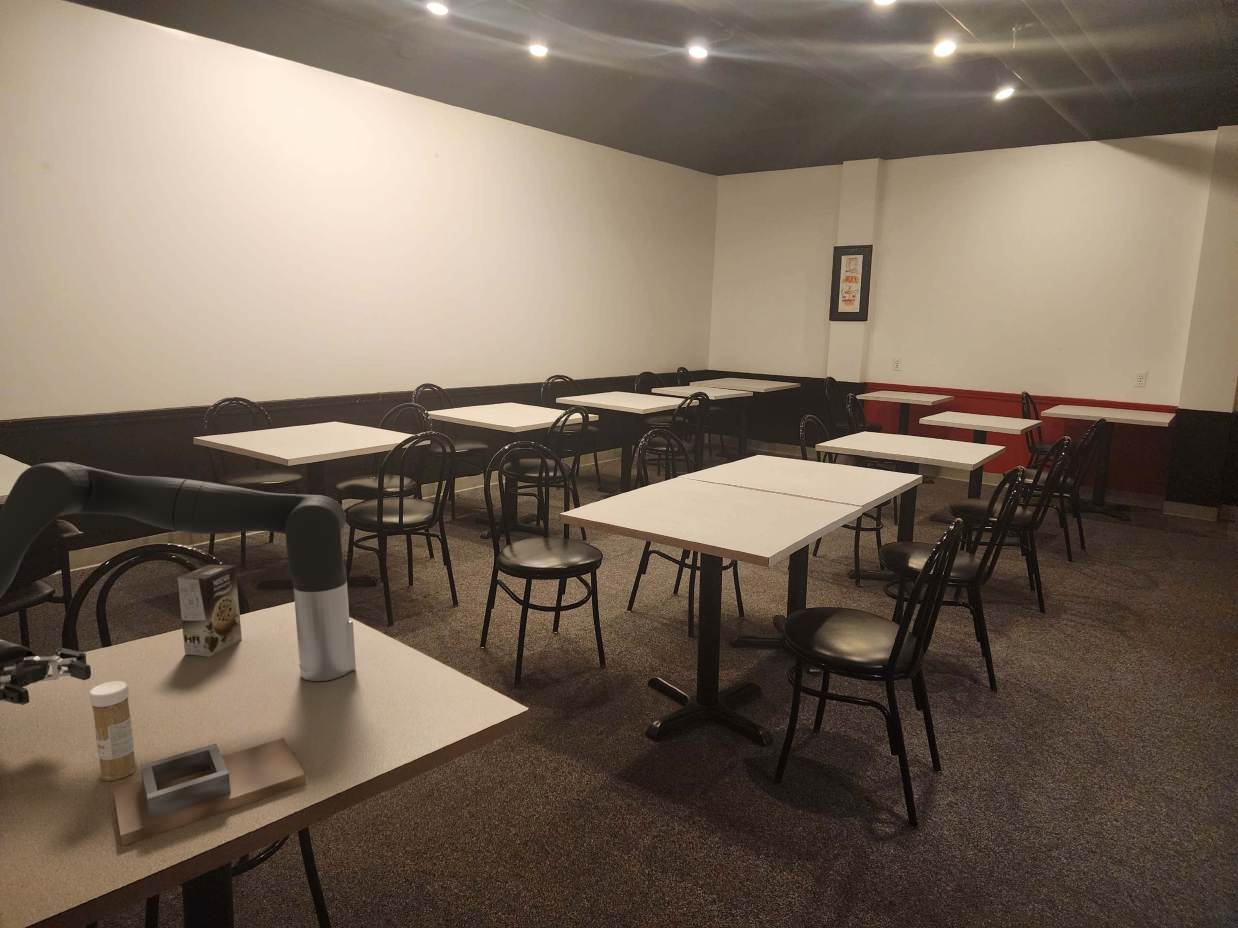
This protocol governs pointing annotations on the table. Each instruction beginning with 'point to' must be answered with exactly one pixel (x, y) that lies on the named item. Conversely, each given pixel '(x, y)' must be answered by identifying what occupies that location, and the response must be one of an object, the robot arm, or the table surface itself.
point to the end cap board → (202, 786)
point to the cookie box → (209, 609)
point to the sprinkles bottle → (113, 730)
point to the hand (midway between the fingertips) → (58, 684)
